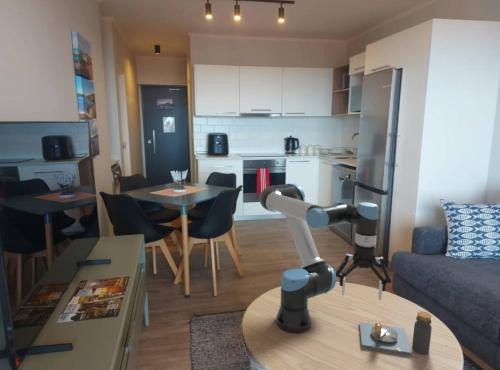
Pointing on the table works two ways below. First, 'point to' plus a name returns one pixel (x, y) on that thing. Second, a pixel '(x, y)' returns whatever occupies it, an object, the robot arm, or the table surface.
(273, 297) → the table surface
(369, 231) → the robot arm
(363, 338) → the board
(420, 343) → the bottle
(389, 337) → the dial
